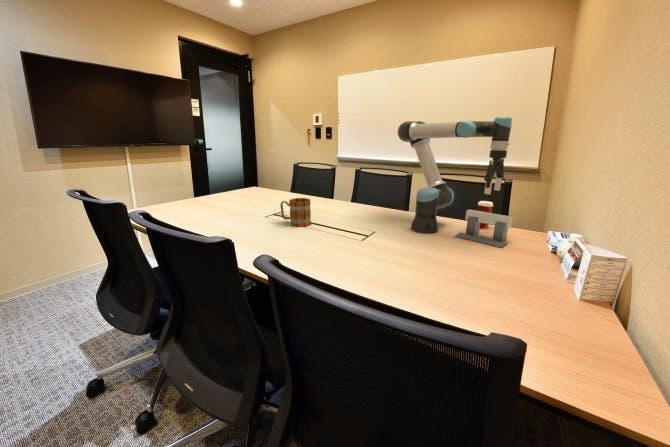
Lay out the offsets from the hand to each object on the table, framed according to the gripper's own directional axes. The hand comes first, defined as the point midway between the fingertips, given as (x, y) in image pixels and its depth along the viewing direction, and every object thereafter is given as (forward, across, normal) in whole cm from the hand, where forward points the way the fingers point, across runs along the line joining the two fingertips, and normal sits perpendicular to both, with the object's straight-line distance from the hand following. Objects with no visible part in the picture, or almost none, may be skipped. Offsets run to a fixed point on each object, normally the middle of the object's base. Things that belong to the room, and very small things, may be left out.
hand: (492, 192), depth 160 cm
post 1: (+24, 0, +7) cm, 25 cm away
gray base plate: (+24, -8, 0) cm, 26 cm away
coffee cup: (+25, +17, +8) cm, 31 cm away
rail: (+16, 0, 0) cm, 16 cm away
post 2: (+24, 0, -7) cm, 25 cm away
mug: (+25, -56, +92) cm, 111 cm away
